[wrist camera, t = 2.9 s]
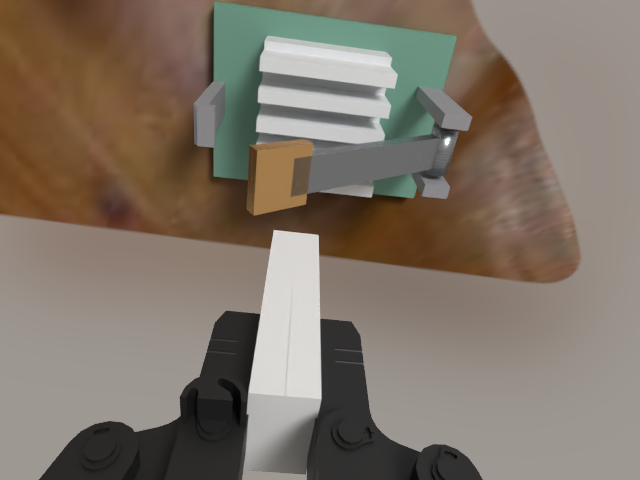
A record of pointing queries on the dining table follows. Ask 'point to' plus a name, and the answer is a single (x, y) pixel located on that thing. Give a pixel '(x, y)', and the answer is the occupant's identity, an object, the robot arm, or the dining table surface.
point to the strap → (338, 166)
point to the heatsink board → (323, 90)
